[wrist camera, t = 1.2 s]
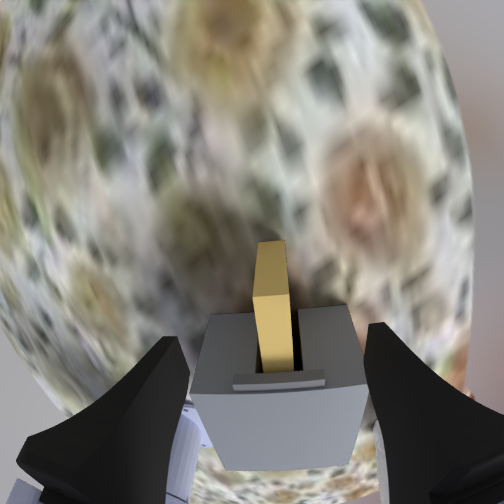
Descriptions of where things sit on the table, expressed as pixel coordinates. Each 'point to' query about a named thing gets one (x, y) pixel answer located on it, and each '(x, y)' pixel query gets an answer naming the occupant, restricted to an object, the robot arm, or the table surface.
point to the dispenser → (281, 393)
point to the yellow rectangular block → (273, 307)
